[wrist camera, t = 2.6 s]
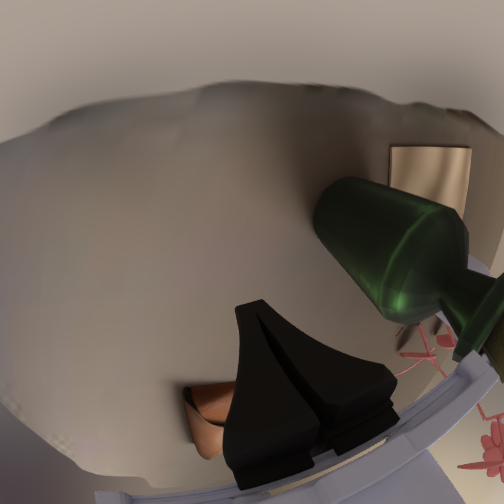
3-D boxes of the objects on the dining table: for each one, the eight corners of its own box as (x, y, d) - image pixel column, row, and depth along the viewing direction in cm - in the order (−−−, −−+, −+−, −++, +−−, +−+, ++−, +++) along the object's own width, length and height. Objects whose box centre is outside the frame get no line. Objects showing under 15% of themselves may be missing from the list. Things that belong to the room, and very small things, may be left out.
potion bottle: (288, 246, 22) (450, 439, 7) (326, 150, 19) (571, 269, 4) (357, 262, 25) (492, 394, 10) (391, 185, 22) (561, 286, 7)
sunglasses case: (247, 436, 37) (237, 469, 31) (206, 425, 38) (193, 457, 32) (254, 375, 29) (239, 423, 23) (196, 360, 30) (173, 404, 24)
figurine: (390, 328, 33) (522, 501, 4) (462, 306, 42) (558, 410, 13) (347, 392, 40) (440, 539, 11) (428, 359, 49) (506, 458, 20)
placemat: (469, 148, 24) (471, 148, 23) (459, 226, 29) (460, 227, 29) (389, 146, 20) (392, 147, 20) (381, 254, 26) (382, 256, 26)
